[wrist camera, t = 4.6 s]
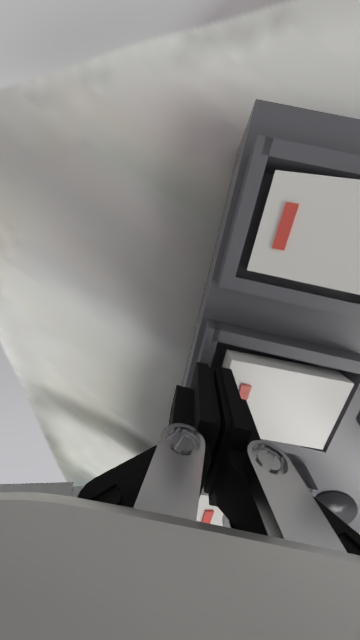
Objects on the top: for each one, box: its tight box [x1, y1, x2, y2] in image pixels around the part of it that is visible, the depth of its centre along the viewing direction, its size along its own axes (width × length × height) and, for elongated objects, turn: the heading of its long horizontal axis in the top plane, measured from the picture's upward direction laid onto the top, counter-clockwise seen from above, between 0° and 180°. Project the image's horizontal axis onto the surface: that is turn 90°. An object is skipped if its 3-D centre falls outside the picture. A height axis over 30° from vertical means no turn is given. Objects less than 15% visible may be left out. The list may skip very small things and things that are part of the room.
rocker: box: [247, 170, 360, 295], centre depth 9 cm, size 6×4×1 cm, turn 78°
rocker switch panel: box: [182, 99, 360, 534], centre depth 14 cm, size 14×26×6 cm, turn 168°
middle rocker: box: [222, 349, 354, 450], centre depth 12 cm, size 6×4×1 cm, turn 78°
